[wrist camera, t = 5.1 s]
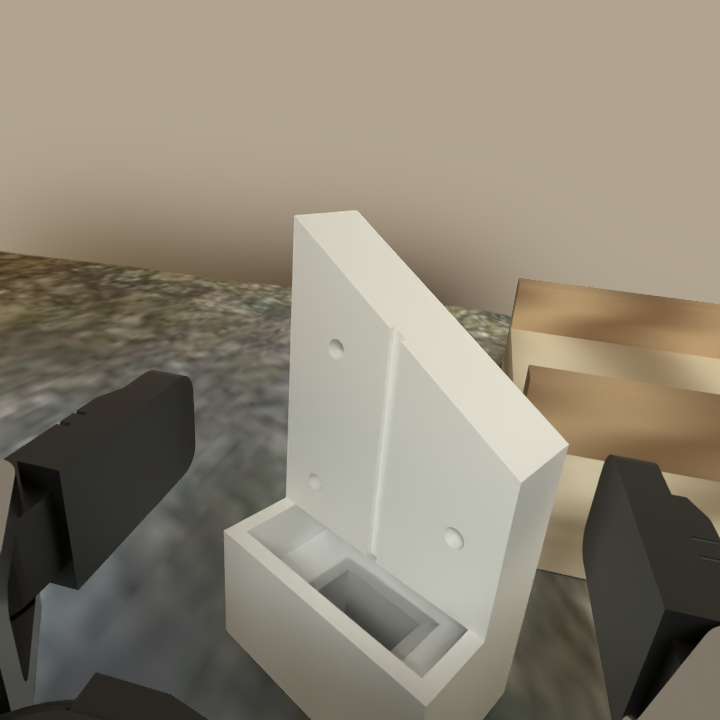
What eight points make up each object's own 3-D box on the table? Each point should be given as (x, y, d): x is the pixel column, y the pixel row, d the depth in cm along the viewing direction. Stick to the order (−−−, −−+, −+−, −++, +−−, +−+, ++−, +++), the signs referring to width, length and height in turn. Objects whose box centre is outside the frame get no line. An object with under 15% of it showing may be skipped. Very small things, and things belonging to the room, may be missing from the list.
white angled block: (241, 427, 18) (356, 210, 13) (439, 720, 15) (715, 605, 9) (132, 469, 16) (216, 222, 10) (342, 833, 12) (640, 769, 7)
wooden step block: (491, 558, 17) (530, 379, 15) (495, 400, 27) (518, 278, 25) (866, 641, 15) (980, 451, 13) (722, 439, 25) (771, 311, 23)
